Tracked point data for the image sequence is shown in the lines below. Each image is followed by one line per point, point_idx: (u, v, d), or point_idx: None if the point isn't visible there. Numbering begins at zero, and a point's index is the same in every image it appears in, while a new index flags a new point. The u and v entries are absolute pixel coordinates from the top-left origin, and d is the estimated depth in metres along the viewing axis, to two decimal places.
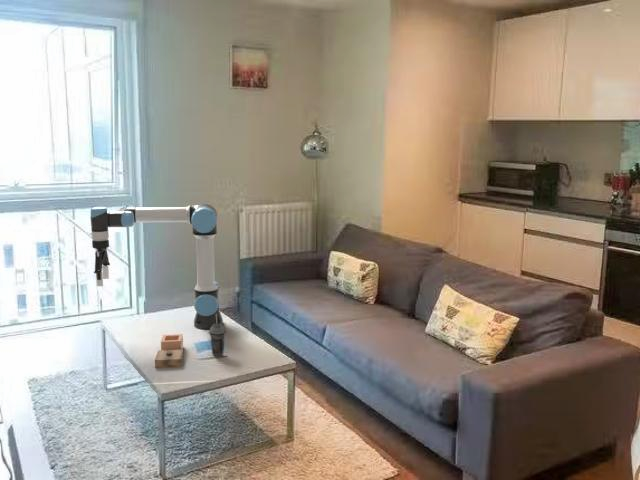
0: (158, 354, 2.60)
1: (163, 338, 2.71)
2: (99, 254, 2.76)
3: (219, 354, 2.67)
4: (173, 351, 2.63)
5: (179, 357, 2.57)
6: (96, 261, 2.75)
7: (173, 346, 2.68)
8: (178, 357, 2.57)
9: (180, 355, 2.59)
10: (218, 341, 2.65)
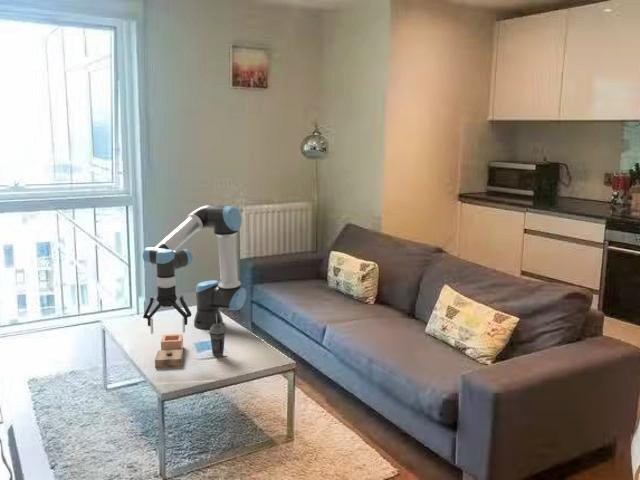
0: (158, 354, 2.60)
1: (163, 338, 2.71)
2: (150, 299, 2.53)
3: (219, 354, 2.67)
4: (173, 351, 2.63)
5: (179, 357, 2.57)
6: None
7: (173, 346, 2.68)
8: (178, 357, 2.57)
9: (180, 355, 2.59)
10: (218, 341, 2.65)
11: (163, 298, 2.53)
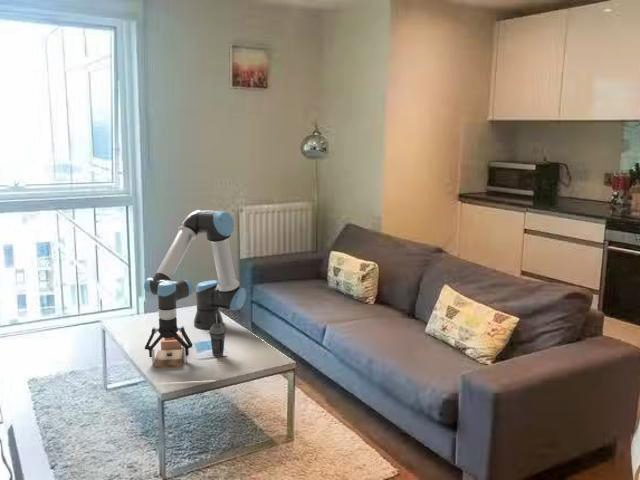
0: (158, 354, 2.60)
1: (163, 338, 2.71)
2: None
3: (219, 354, 2.67)
4: (173, 351, 2.63)
5: (179, 357, 2.57)
6: None
7: (173, 346, 2.68)
8: (178, 357, 2.57)
9: (180, 355, 2.59)
10: (218, 341, 2.65)
11: (164, 330, 2.56)
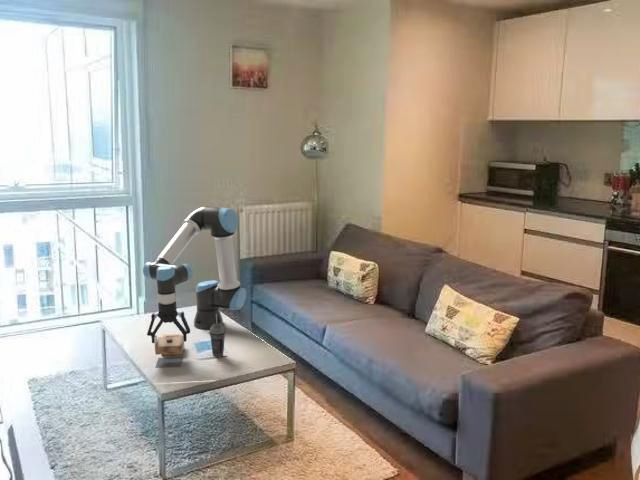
0: (158, 341, 2.59)
1: None
2: None
3: (219, 354, 2.67)
4: (173, 338, 2.63)
5: (179, 344, 2.56)
6: None
7: None
8: (178, 344, 2.56)
9: (180, 342, 2.58)
10: (218, 341, 2.65)
11: (164, 314, 2.55)
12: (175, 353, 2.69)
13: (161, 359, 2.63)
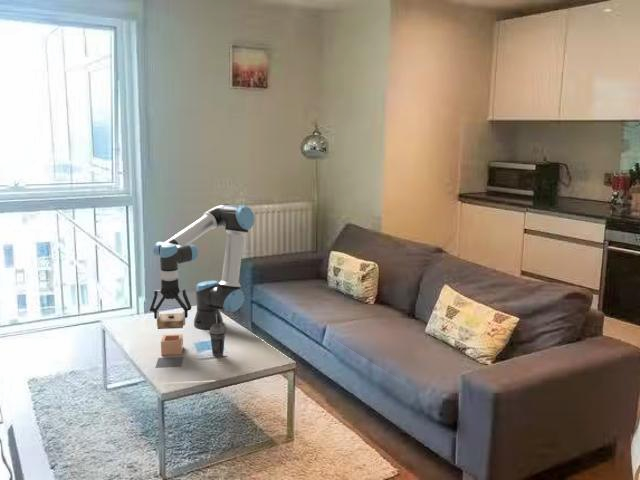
0: (160, 317, 2.70)
1: (163, 338, 2.71)
2: None
3: (219, 354, 2.67)
4: (175, 314, 2.73)
5: (180, 319, 2.67)
6: None
7: (173, 346, 2.68)
8: (179, 319, 2.67)
9: (181, 317, 2.69)
10: (218, 341, 2.65)
11: (166, 291, 2.66)
12: (175, 353, 2.69)
13: (161, 359, 2.63)
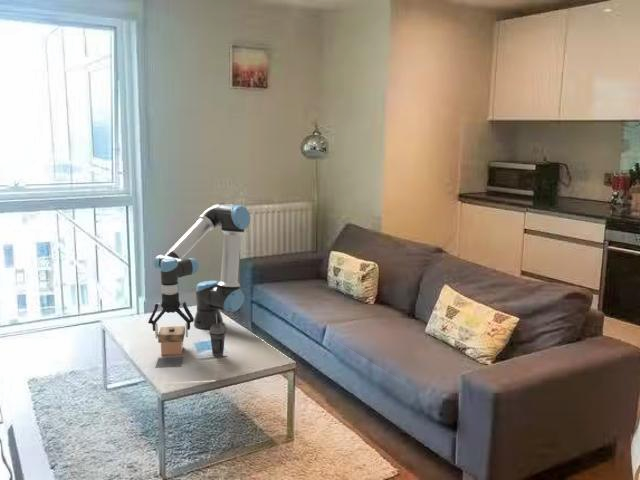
0: (161, 330, 2.71)
1: None
2: (155, 305, 2.67)
3: (219, 354, 2.67)
4: (175, 327, 2.75)
5: (181, 333, 2.68)
6: None
7: (173, 346, 2.68)
8: (180, 333, 2.68)
9: (182, 331, 2.70)
10: (218, 341, 2.65)
11: (167, 304, 2.67)
12: (175, 353, 2.69)
13: (161, 359, 2.63)
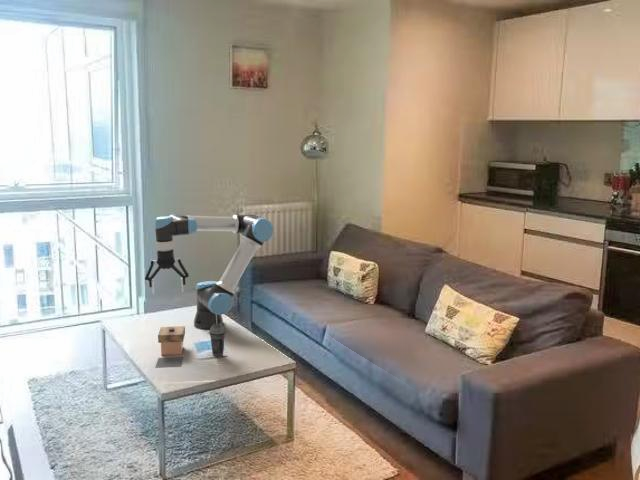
0: (161, 330, 2.71)
1: None
2: None
3: (219, 354, 2.67)
4: (175, 327, 2.75)
5: (181, 333, 2.68)
6: (149, 268, 2.79)
7: (173, 346, 2.68)
8: (180, 333, 2.68)
9: (182, 331, 2.70)
10: (218, 341, 2.65)
11: (163, 261, 2.78)
12: (175, 353, 2.69)
13: (161, 359, 2.63)
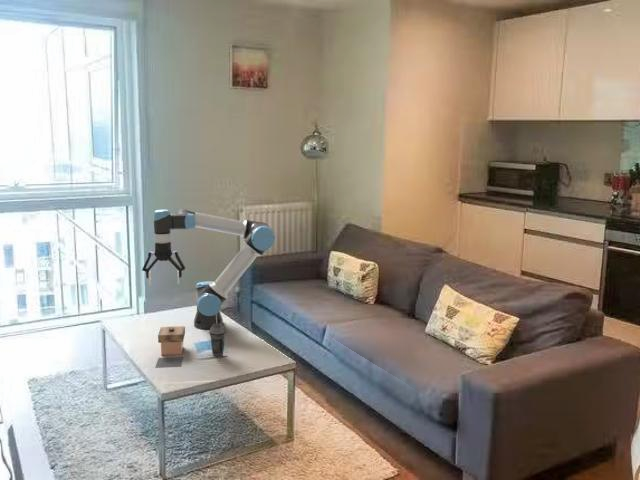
0: (161, 330, 2.71)
1: None
2: None
3: (219, 354, 2.67)
4: (175, 327, 2.75)
5: (181, 333, 2.68)
6: None
7: (173, 346, 2.68)
8: (180, 333, 2.68)
9: (182, 331, 2.70)
10: (218, 341, 2.65)
11: (160, 253, 2.84)
12: (175, 353, 2.69)
13: (161, 359, 2.63)
